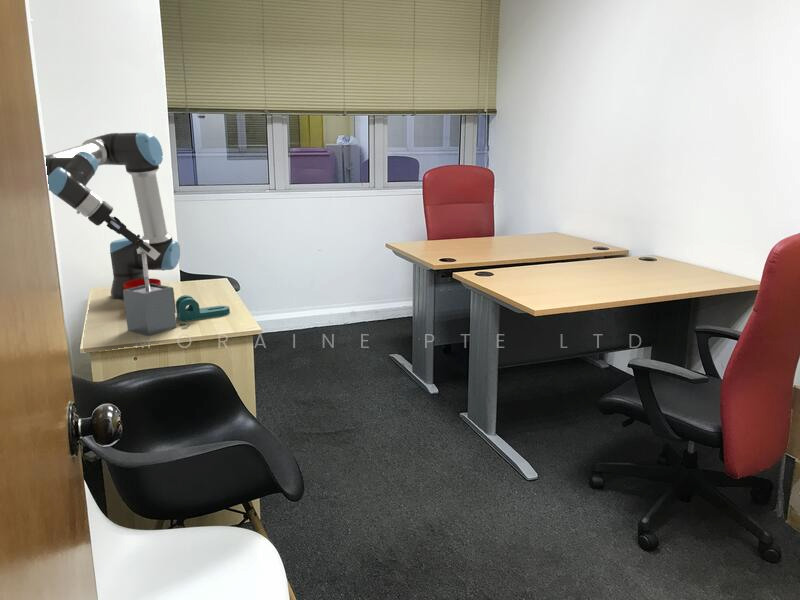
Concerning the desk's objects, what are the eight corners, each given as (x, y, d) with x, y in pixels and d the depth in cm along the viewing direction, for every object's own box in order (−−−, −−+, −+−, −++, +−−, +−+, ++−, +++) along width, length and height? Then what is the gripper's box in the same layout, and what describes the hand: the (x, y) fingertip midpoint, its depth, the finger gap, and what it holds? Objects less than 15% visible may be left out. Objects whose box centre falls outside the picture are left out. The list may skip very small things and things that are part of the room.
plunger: (151, 287, 215) (145, 237, 211) (167, 291, 211) (162, 239, 206) (128, 293, 208) (122, 241, 204) (145, 296, 204) (139, 243, 199)
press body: (164, 319, 223) (160, 281, 219) (185, 324, 217) (181, 285, 214) (127, 330, 211) (122, 289, 207) (148, 335, 205) (143, 294, 202)
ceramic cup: (160, 314, 230) (157, 287, 227) (119, 311, 233) (115, 285, 231) (179, 304, 242) (176, 279, 239) (139, 302, 245) (136, 277, 243)
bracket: (180, 322, 220) (178, 300, 218) (177, 317, 226) (174, 296, 224) (231, 314, 229) (230, 293, 227) (227, 310, 235) (225, 290, 233)
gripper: (83, 214, 203) (142, 258, 216) (89, 221, 187) (153, 269, 199) (99, 197, 205) (157, 242, 217) (106, 202, 188) (169, 251, 200)
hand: (155, 255), depth 208 cm, fingers open, 7 cm apart
